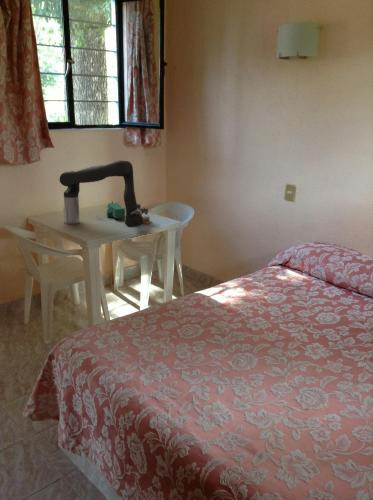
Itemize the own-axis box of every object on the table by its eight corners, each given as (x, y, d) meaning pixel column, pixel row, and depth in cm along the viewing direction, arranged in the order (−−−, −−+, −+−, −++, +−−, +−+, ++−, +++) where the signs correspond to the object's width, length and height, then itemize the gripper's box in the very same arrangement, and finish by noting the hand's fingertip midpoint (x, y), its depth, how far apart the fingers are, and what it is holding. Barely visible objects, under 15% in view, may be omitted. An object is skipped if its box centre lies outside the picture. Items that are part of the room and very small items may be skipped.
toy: (118, 198, 318) (128, 206, 291) (118, 211, 321) (128, 220, 294) (102, 198, 314) (110, 207, 287) (102, 211, 317) (110, 221, 290)
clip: (140, 222, 287) (140, 205, 284) (134, 222, 287) (134, 204, 283) (140, 221, 291) (140, 203, 287) (134, 221, 291) (134, 203, 287)
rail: (124, 224, 284) (124, 219, 283) (126, 220, 294) (125, 216, 293) (149, 224, 285) (149, 220, 284) (149, 220, 294) (149, 216, 294)
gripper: (147, 208, 272) (148, 203, 288) (124, 208, 271) (126, 202, 287) (147, 220, 274) (148, 214, 290) (124, 219, 274) (126, 213, 289)
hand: (137, 208), depth 288 cm, fingers open, 8 cm apart
